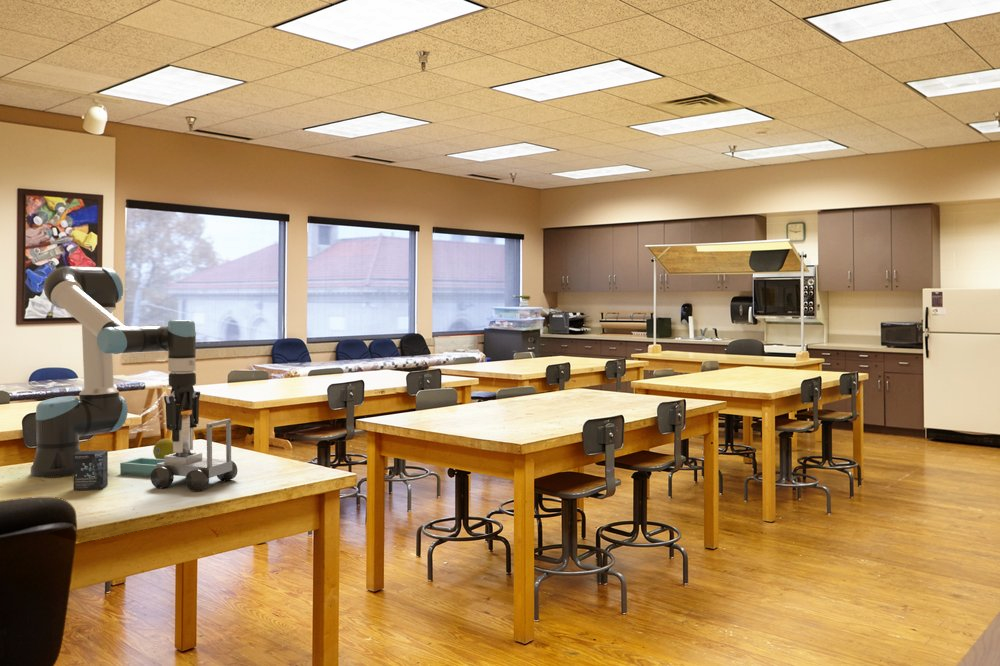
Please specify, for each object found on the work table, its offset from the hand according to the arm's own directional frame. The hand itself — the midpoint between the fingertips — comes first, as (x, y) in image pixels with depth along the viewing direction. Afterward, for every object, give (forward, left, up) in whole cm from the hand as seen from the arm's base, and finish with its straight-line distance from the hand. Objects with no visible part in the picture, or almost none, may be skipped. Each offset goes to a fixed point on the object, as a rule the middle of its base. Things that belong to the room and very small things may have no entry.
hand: (183, 450), depth 239 cm
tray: (-20, +8, -10) cm, 24 cm away
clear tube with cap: (0, 0, -3) cm, 3 cm away
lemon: (-25, +23, -10) cm, 36 cm away
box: (-21, -14, -10) cm, 27 cm away
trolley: (+4, 0, -10) cm, 10 cm away
